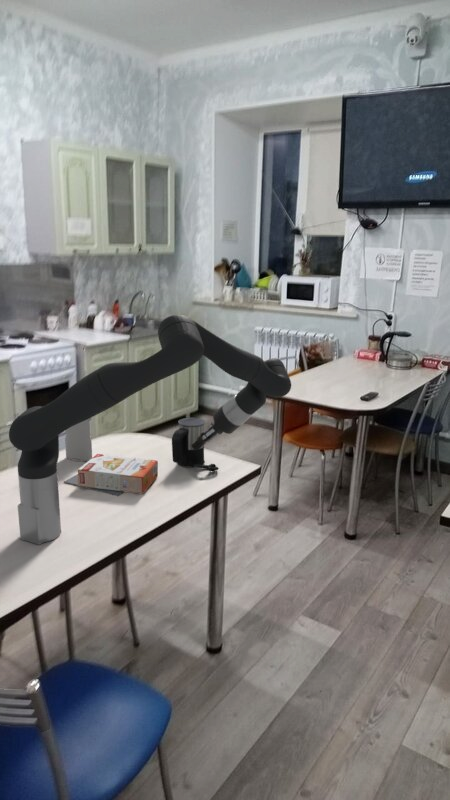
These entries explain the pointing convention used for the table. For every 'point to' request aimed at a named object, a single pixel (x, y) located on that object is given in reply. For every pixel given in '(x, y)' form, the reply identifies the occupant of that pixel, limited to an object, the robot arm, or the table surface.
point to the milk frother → (189, 444)
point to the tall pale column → (79, 442)
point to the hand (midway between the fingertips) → (194, 447)
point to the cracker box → (118, 473)
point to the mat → (74, 481)
